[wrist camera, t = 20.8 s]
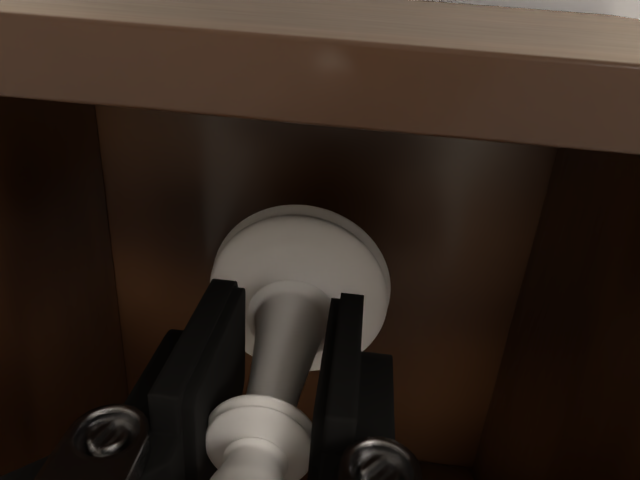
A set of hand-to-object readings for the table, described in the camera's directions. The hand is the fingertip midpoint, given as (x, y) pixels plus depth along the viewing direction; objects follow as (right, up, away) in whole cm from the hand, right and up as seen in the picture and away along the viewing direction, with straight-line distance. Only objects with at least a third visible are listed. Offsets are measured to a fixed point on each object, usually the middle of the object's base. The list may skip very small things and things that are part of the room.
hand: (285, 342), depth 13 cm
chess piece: (0, +1, +3) cm, 3 cm away
